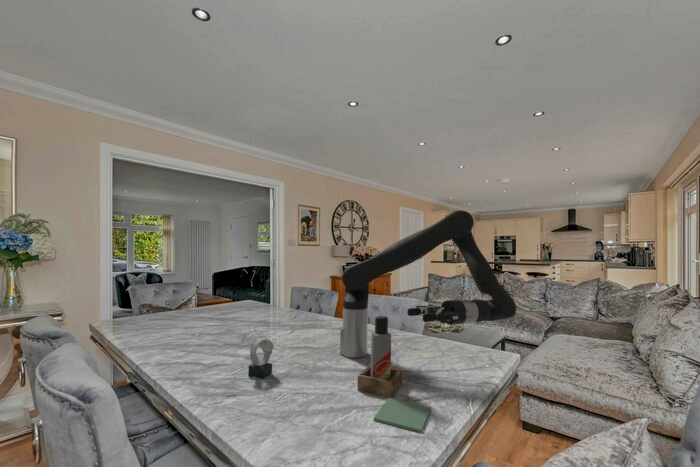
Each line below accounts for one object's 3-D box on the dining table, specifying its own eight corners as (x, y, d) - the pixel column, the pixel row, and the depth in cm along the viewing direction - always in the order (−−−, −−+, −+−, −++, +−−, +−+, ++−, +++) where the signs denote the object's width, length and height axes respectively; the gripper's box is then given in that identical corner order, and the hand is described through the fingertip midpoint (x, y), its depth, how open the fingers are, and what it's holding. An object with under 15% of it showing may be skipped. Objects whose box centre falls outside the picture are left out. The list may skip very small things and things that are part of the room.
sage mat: (373, 420, 74) (373, 417, 74) (388, 400, 84) (388, 397, 84) (421, 432, 69) (421, 430, 69) (431, 409, 79) (431, 407, 79)
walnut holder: (357, 390, 89) (357, 375, 89) (370, 377, 98) (370, 364, 98) (392, 398, 85) (392, 382, 85) (402, 383, 94) (402, 369, 94)
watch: (275, 371, 101) (276, 336, 101) (259, 381, 93) (260, 343, 94) (261, 368, 103) (262, 334, 104) (244, 377, 96) (245, 340, 96)
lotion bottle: (389, 392, 88) (390, 319, 89) (369, 390, 89) (370, 317, 90) (391, 383, 94) (392, 315, 94) (372, 381, 95) (373, 313, 95)
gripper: (445, 296, 108) (403, 298, 103) (475, 303, 95) (428, 306, 89) (445, 318, 108) (403, 322, 102) (475, 329, 95) (429, 333, 89)
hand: (415, 315), depth 96 cm, fingers open, 8 cm apart
